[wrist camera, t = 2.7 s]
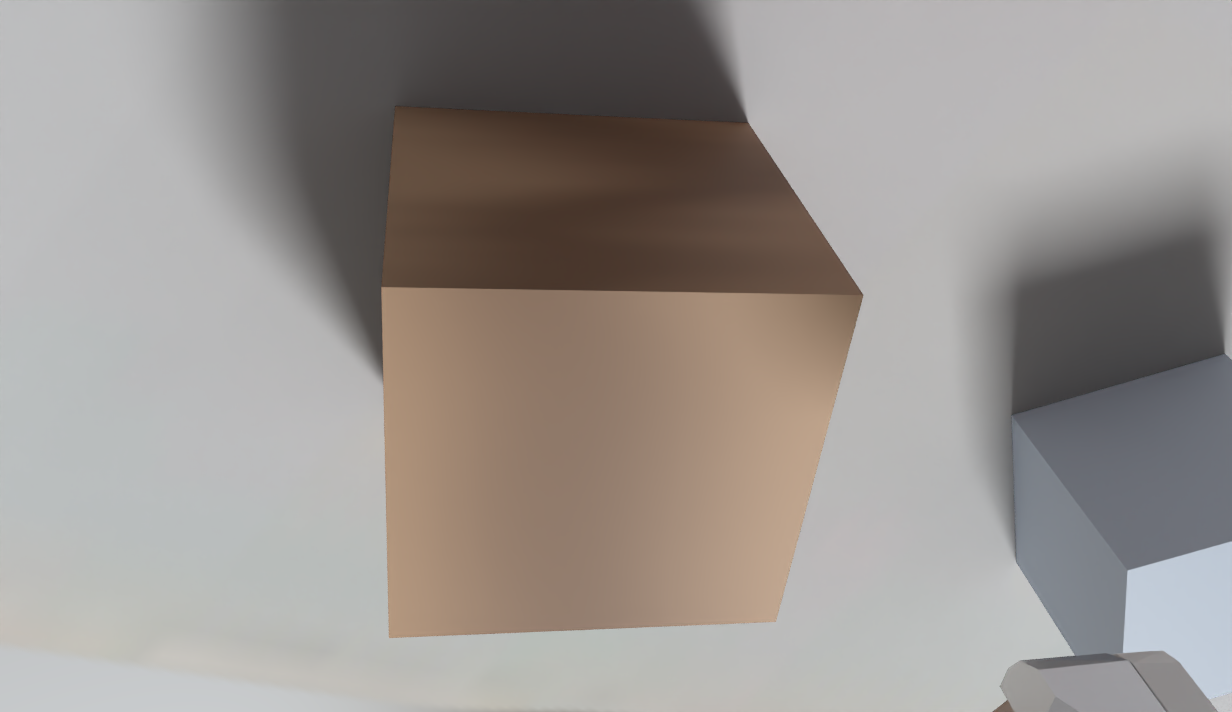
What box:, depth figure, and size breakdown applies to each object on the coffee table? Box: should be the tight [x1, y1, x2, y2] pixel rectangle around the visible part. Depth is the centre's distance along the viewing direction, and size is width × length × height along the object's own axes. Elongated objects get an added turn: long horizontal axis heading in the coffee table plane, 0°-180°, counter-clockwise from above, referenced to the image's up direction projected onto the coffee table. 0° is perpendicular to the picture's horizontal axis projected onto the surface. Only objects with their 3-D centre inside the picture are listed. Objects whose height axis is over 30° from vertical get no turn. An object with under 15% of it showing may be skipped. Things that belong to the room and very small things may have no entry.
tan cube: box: [381, 106, 863, 638], centre depth 14 cm, size 5×5×5 cm
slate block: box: [1011, 354, 1232, 699], centre depth 19 cm, size 4×4×4 cm
